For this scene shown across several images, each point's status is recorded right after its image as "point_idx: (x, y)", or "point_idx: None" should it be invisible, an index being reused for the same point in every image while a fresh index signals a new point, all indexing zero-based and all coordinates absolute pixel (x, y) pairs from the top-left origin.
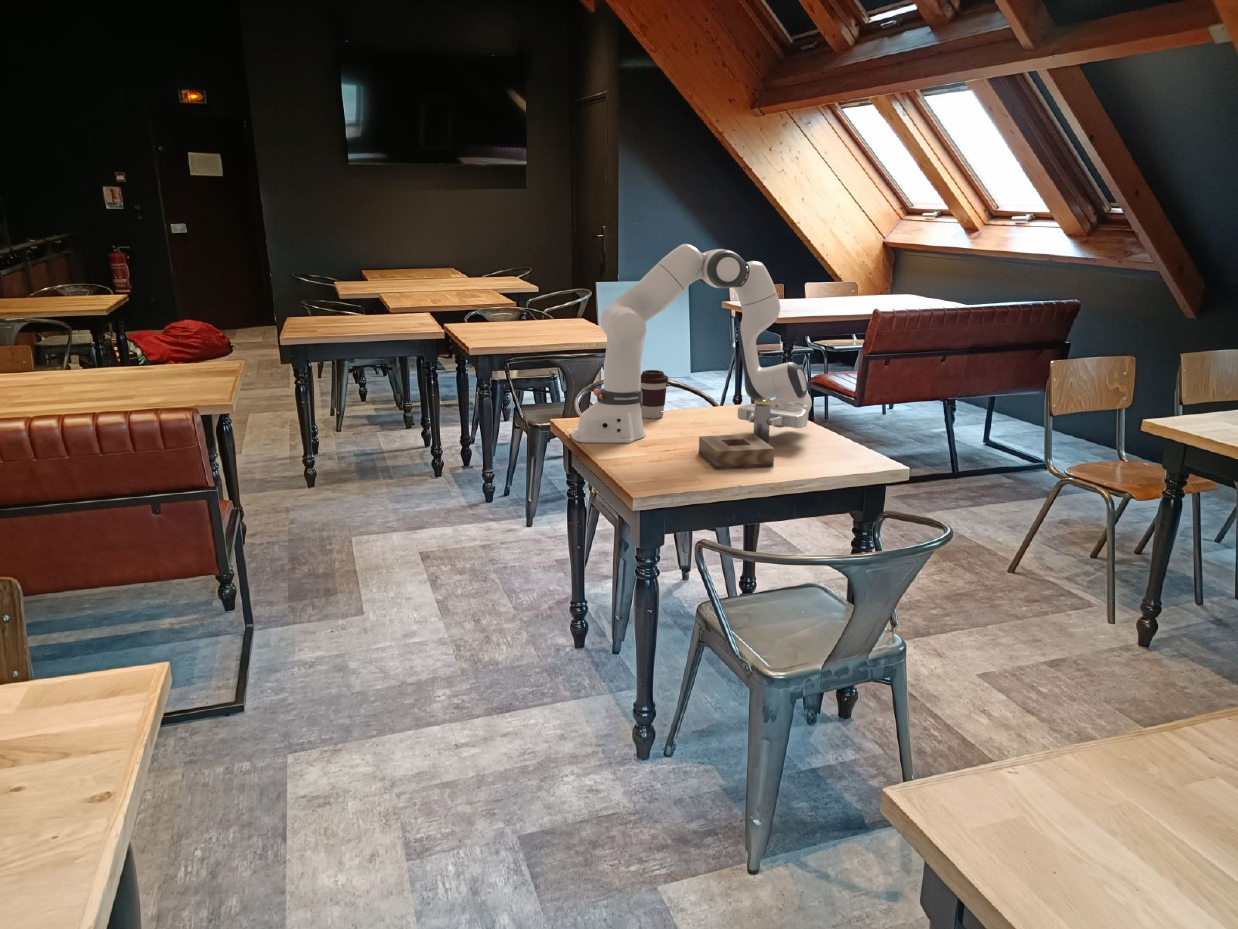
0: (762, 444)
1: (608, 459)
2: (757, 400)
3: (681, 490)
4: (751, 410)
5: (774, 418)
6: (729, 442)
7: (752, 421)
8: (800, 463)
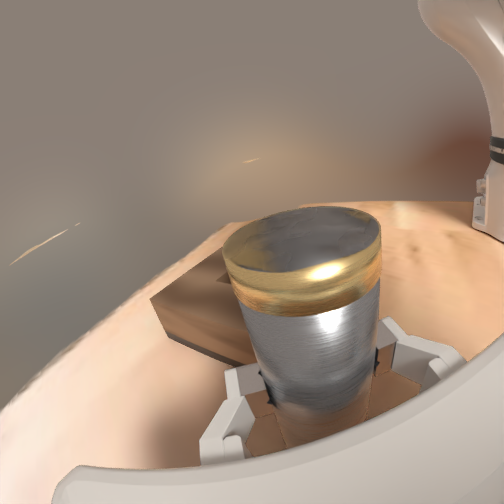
0: (191, 299)
1: (390, 205)
2: (315, 211)
3: (231, 225)
4: (482, 351)
5: (233, 397)
6: None
7: None
8: (118, 394)
